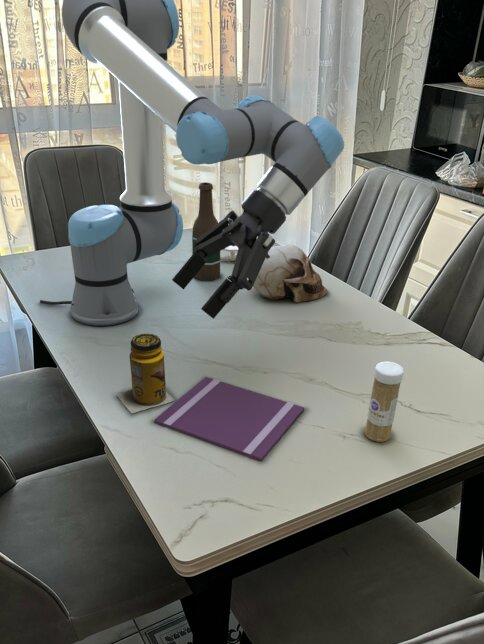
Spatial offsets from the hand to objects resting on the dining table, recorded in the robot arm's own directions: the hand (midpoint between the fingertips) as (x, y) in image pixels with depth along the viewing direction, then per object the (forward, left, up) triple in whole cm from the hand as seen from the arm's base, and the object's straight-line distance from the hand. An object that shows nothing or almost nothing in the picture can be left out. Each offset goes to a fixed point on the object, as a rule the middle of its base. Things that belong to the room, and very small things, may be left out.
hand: (191, 298), depth 105 cm
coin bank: (-4, +50, -18) cm, 54 cm away
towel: (+11, -5, -18) cm, 22 cm away
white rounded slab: (-33, +67, -18) cm, 77 cm away
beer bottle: (-28, +49, -18) cm, 59 cm away
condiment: (-6, -8, -18) cm, 21 cm away
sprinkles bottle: (+35, +3, -18) cm, 40 cm away
